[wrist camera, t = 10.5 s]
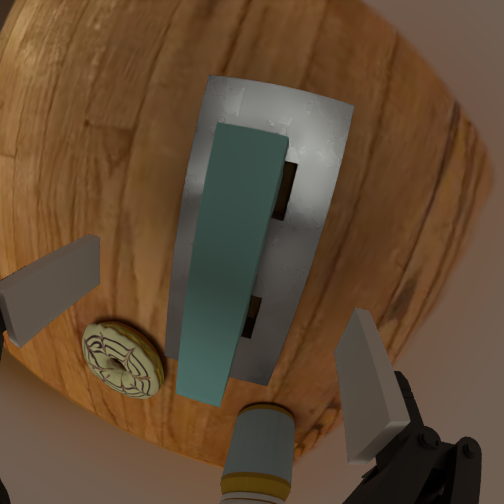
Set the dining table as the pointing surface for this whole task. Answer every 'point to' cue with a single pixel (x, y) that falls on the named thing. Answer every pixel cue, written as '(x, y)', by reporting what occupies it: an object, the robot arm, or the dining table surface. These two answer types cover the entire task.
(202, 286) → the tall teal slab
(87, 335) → the decorated donut
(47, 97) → the dining table surface
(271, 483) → the bottle
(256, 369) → the slotted metal plate
